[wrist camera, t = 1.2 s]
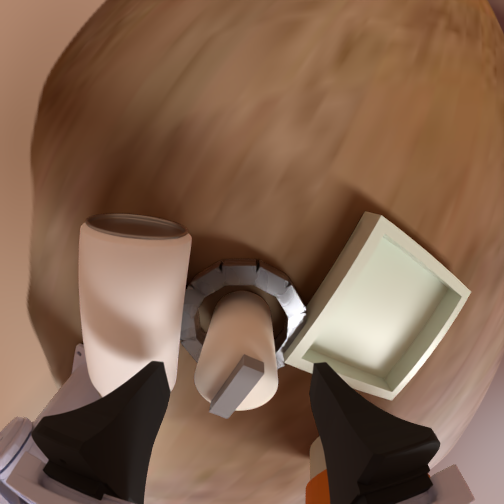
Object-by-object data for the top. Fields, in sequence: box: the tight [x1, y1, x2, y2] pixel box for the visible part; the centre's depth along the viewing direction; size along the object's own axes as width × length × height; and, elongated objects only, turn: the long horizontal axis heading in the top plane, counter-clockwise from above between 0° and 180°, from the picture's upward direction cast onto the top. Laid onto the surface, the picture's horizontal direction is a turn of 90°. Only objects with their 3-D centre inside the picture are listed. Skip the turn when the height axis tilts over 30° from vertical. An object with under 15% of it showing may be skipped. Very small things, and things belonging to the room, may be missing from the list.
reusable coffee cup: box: [306, 436, 430, 504], centre depth 15 cm, size 13×12×15 cm
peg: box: [194, 291, 278, 419], centre depth 15 cm, size 4×4×8 cm
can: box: [79, 213, 192, 398], centre depth 15 cm, size 6×6×12 cm
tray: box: [283, 211, 471, 400], centre depth 17 cm, size 11×11×2 cm
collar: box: [180, 259, 307, 369], centre depth 18 cm, size 8×8×2 cm
